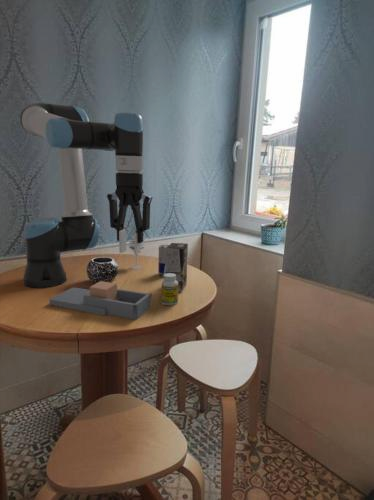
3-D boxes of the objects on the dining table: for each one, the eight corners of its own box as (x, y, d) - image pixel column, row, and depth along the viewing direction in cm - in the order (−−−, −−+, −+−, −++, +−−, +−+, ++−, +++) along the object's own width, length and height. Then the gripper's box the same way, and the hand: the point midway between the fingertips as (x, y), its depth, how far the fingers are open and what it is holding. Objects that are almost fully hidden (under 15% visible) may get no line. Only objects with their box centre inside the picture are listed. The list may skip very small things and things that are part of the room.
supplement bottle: (176, 299, 120) (176, 271, 118) (179, 305, 115) (179, 277, 113) (160, 299, 119) (160, 272, 116) (162, 306, 114) (163, 277, 111)
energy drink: (158, 272, 148) (158, 244, 145) (171, 272, 149) (171, 244, 146) (158, 276, 143) (158, 247, 140) (171, 276, 143) (172, 247, 140)
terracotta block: (90, 302, 110) (89, 286, 109) (100, 295, 116) (100, 281, 114) (107, 305, 108) (106, 289, 107) (117, 298, 114) (116, 283, 113)
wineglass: (136, 264, 159) (136, 238, 156) (147, 267, 155) (147, 240, 152) (125, 267, 153) (125, 240, 150) (136, 270, 150) (136, 243, 147)
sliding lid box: (49, 305, 112) (48, 291, 111) (73, 292, 123) (72, 280, 122) (134, 321, 102) (134, 306, 101) (152, 306, 114) (152, 292, 112)
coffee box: (182, 292, 126) (183, 248, 122) (164, 291, 127) (165, 247, 123) (187, 284, 134) (188, 243, 130) (170, 283, 136) (171, 242, 132)
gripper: (95, 171, 99) (97, 252, 104) (151, 173, 93) (151, 258, 99) (109, 170, 105) (111, 247, 111) (162, 172, 100) (161, 252, 106)
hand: (130, 252), depth 105 cm, fingers open, 4 cm apart
